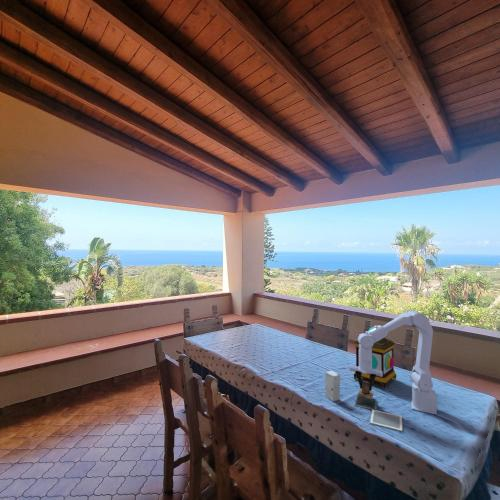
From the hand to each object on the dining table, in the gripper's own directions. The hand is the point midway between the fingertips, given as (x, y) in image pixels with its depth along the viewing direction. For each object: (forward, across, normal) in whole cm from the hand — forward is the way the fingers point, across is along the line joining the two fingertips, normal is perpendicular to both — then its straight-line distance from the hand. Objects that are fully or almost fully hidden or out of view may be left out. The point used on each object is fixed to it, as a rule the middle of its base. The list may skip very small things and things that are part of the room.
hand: (365, 388), depth 133 cm
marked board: (+7, +9, -11) cm, 16 cm away
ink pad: (+7, 0, 0) cm, 7 cm away
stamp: (+3, 0, 0) cm, 3 cm away
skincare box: (+7, -15, -2) cm, 17 cm away
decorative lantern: (+7, +2, +31) cm, 32 cm away
